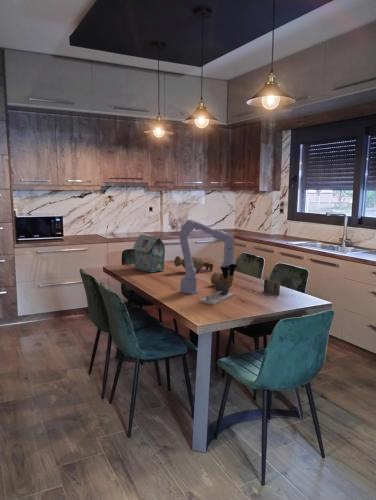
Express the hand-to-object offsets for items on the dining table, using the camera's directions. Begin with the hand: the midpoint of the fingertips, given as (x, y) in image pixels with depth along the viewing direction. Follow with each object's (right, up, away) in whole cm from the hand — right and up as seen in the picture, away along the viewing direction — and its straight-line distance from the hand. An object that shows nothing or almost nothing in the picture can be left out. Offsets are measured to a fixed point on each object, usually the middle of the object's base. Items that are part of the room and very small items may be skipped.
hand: (228, 277), depth 240 cm
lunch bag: (-54, +1, +66) cm, 85 cm away
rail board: (-7, -12, -9) cm, 17 cm away
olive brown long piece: (-20, -1, +61) cm, 64 cm away
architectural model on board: (+27, -11, +6) cm, 30 cm away
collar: (-4, -9, -4) cm, 11 cm away
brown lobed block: (-2, -8, +17) cm, 19 cm away
